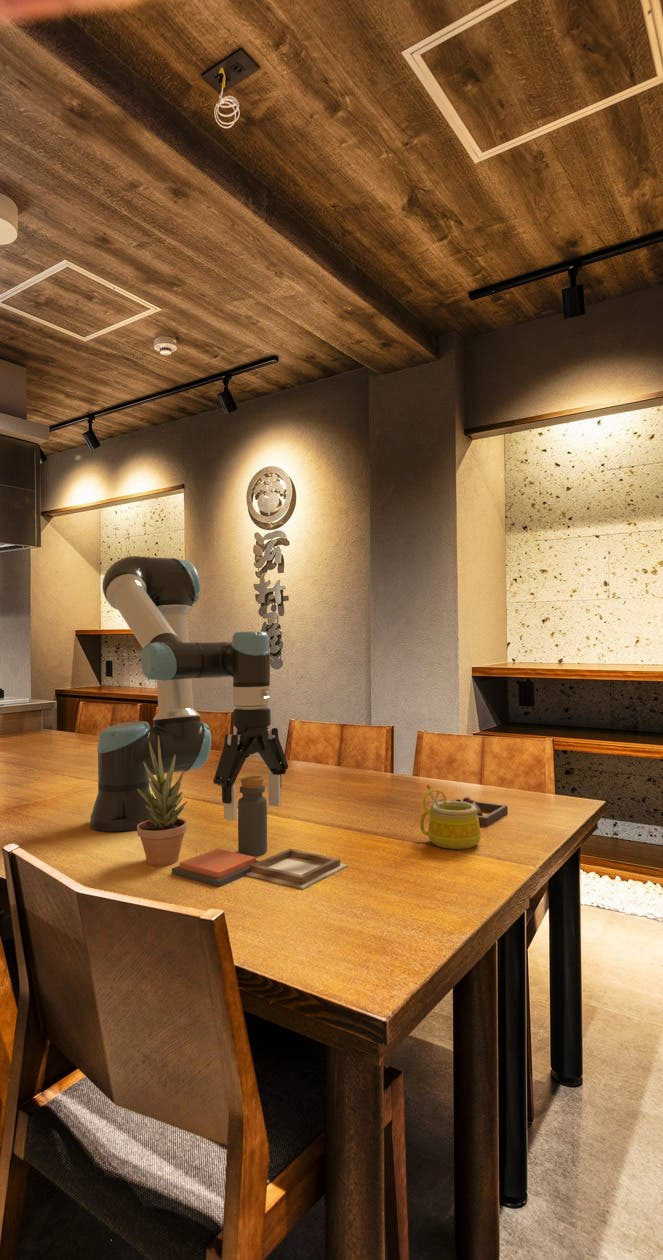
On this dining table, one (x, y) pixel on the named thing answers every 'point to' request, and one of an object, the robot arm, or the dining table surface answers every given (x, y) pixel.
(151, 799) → the potted plant
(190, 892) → the dining table surface
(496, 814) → the pastry tray
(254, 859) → the ink pad
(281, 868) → the frame
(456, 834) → the mug
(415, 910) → the dining table surface
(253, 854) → the cork-lidded jar
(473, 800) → the pastry
